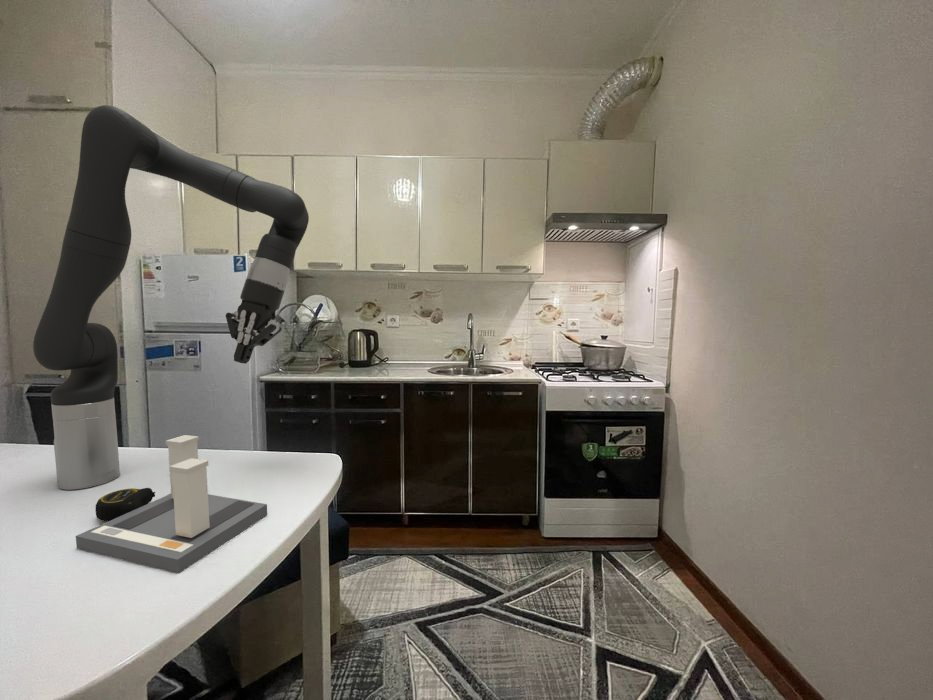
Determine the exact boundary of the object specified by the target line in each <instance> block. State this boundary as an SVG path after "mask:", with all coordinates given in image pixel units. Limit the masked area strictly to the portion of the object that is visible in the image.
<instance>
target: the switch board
mask: <svg viewBox="0 0 933 700" xmlns="http://www.w3.org/2000/svg"><path fill="white" fill-rule="evenodd" d="M208 505H209V523H210V527H209V528H208V529H206V530H204V531H203V532H201V533H199V534H197V535H196V536H194V537H192V538H189V537H184V536H179V535H176V528H175V512H174V499H173V498H171V493H168V494H167V495H165V496H163V497H160V498H158V499H156V500H155V499H154V500H152V501H150V502H149V503H148V504H147V505H144V506H142V507H140V508H138V509H135V510H133V511H131V512H129V513H126V514H124V515H122V516H120V517H117V518H115V519H113V520H111V521H108V522H107V521H105V522H104V523H102V524H99V525H97V526H95V527H92V528H91V529H89V530H86V531H84V532H82V533H80V534H77V535H75V543H76V549H77V550H81V551H85V552H89V553H94V554H98V555H101V556H102V555H103V556H106V557H109V558H113V559H118V560H122V561H126V562H131V563H134V564H139V565H142V566H146V567H151V568H154V569H159V570H163V571H167V572H171V573H176V574H180V573H181V572H184V570H186V569H187V568H189V567H191V566H192V565H193V564H195V563H197V562H198V561H199V560H200V561H201V559H202V558H204V557H206V556H207V555H208V554H210V553H211V552H213V551H215V550H216V549H218V548H219V547H221V546H222V545H223V544H226V543H228V541H230V540H232V539H233V538H235V537H236V536H237V535H239V534H241V533H243V532H244V531H245V530H246V529H248V528H250V527H252V526H253V525H255V524H256V523H257V522H259V521H260V520H262V519H264V518H265V517H267V516H268V504H267V503H261V502H257V501H249V500H246V499H237V498H232V497H226V496H219V495H215V494H209V493H208Z"/></svg>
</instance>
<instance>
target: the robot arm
mask: <svg viewBox="0 0 933 700" xmlns="http://www.w3.org/2000/svg"><path fill="white" fill-rule="evenodd" d="M80 137H81V139H80V148H79V149H80V150H79V152H80V153H79V163H78V164H79V166H78V173H77V174H78V175H77V179H76V184H75V189H74V194H73V198H72V205H71V208H70V212H69V217H68V220H67V224H66V228H65V232H64V237H63V241H62V244H61V251H60V257H59V261H58V266H57V268H56V272H55V275H54V276H55V277H54V280H53V283H52V287H51V290H50V291H51V292H50V294H49V297H48V299H47V302H46V305H45V308H44V310H43V313H42V314H41V318H40V319H39V323H38V325H37V328H36V330H35V334H34V337H33V338H34V339H33V342H32V343H33V345H32V349H33V354H34V357H35V359H36V361H37V362H38V363H39V364H40V366H42V367H43V368H45V369H47V370H51V371H69V370H70V374H69V375H68V377H67V379H65V381H63V382H62V383H60V384H59V385H58V386H56V387H54V388H53V389H52V390H51V392H50V403H51V415H52V422H53V423H52V424H53V425H52V426H53V435H54V437H53V438H54V439H53V447H54V449H53V450H54V460H55V470H56V481H57V484H58V489H59V488H60V489H61V490H66V491H67V490H68V491H70V490H79V489H80V490H81V489H86V488H87V489H88V488H92V487H96V486H99V485H102V484H105V483H108V482H111V481H113V480H115V479H117V478H119V476H120V475H121V473H120V472H121V470H120V469H121V468H120V457H119V455H120V454H119V443H118V431H117V419H116V418H117V417H116V408H115V407H116V406H115V389H116V386H117V383H118V380H119V371H118V369H119V367H118V365H119V361H118V357H119V356H118V354H119V353H118V352H119V351H118V344H117V340H116V337H115V334H113V332H112V331H111V330H110V329H109V328H108V327H107V326H106V325H103V324H101V323H96V322H89V320H90V319H89V318H90V315H91V312H92V310H93V307H94V305H95V304H96V302H97V300H98V299H99V298H100V297H101V296H102V295H103V294H104V293H105V292H106V290H107V289H108V288H110V286H112V284H113V283H114V282H115V281H116V280H117V279H118V277H119V276H120V274H121V273H122V272H123V270H124V268H125V266H126V263H127V260H128V256H129V250H130V247H131V243H132V242H131V241H132V227H131V226H132V225H131V221H130V216H129V212H128V207H127V200H126V186H127V181H128V177H129V174H130V173H129V172H130V170H138V171H140V172H141V171H142V172H145V173H149V174H153V175H158V176H160V177H163V178H168V179H170V180H174V181H176V182H180V183H182V184H185V185H187V186H190V187H192V188H193V189H196V190H198V191H200V192H202V193H204V194H206V195H207V196H211V197H213V198H214V199H217V200H219V201H220V202H221V201H222V202H224V203H226V204H228V205H230V206H232V207H235V208H238V209H240V210H241V211H242V210H243V211H245V212H249V213H256V212H258V213H260V214H263V215H265V216H268V217H270V218H272V219H273V221H272V224H271V227H270V229H269V231H268V233H264V235H263V236H262V237H261V239H260V241H259V244H258V247H257V250H256V253H255V256H254V259H253V261H252V263H251V264H250V267H249V268H248V272H247V276H246V278H245V281H244V285H243V287H242V290H241V294H240V295H239V296H240V299H241V303H240V305H239V306H238V307H237V310H235V311H234V312H232V313H231V312H226V313H225V319H226V323H227V327H228V330H229V334H230V337H231V338H232V339H234V340H235V341H236V343H237V345H236V348H235V351H234V353H233V362H236V363H240V364H244V365H245V364H248V362H250V360H251V358H252V354H253V351H254V349H255V347H259V346H261V347H264V346H265V345H266V344H268V342H270V341H271V340H272V339H273V338H275V337H276V336H278V334H279V333H281V332H282V330H283V329H282V327H281V326H280V325H278V324H277V321H275V320H276V311H277V310H280V307H281V304H282V301H283V297H284V296H285V295H284V293H285V291H286V288H287V285H288V282H289V279H290V278H289V277H290V272H291V268H292V265H293V262H294V259H295V256H296V251H297V249H298V247H299V246H300V244H301V242H302V240H303V238H304V235H305V233H306V232H307V228H308V225H309V218H310V217H309V212H308V209H307V206H306V203H305V201H304V200H303V198H302V197H301V196H300V195H299V194H298V193H296V192H295V191H293V190H291V189H290V188H287V187H284V186H282V185H278V184H275V183H273V182H272V183H271V182H269V181H263V180H259V179H257V178H254V177H253V176H250V175H248V174H246V173H244V172H241V171H239V170H237V169H235V168H233V167H230V166H227V165H226V164H222V163H219V162H216V161H213V160H210V159H206V158H202V157H200V156H196V155H194V154H191V153H189V152H187V151H185V150H183V149H180V148H179V147H177V146H175V145H173V144H172V143H170V142H168V141H167V140H166V139H164V138H162V137H161V136H159V135H158V134H156V133H155V132H153V131H152V130H151V129H150V128H149V127H148V126H147V125H145V124H144V123H142V122H141V121H139V120H138V119H137V118H135V117H134V116H132V115H131V114H129V113H128V112H126V111H124V109H121V108H119V107H117V106H113V105H109V104H106V105H105V104H103V105H99V106H97V107H94V108H92V109H91V110H90V111H89V112H88V114H86V116H85V119H84V121H83V124H82V130H81V136H80Z"/></svg>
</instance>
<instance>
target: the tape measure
mask: <svg viewBox="0 0 933 700" xmlns="http://www.w3.org/2000/svg"><path fill="white" fill-rule="evenodd" d="M155 497H156V491H154V492H153V489H152V488H151V487H145V488H125V489H119V490H115V491H112V492H109V493H107V494H105V495H103V496H101V497H100V498H99V499H98V500H97V502H96V504H95V516H96V518H97V520H98V521H101V522H108V521H111V520H113V519H115V518H117V517H120V516H122V515H124V514H126V513H129V512H131V511H133V510H135V509H138V508H140V507H142V506H144V505H147V504H149V503H151V502H152V501H153V498H155Z"/></svg>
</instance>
